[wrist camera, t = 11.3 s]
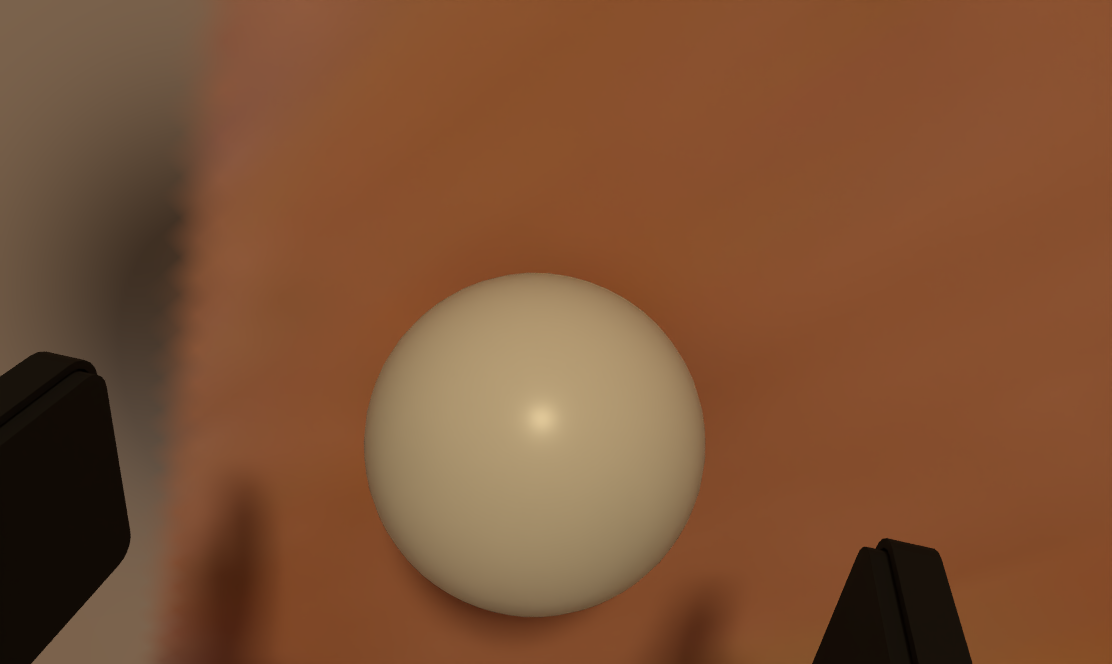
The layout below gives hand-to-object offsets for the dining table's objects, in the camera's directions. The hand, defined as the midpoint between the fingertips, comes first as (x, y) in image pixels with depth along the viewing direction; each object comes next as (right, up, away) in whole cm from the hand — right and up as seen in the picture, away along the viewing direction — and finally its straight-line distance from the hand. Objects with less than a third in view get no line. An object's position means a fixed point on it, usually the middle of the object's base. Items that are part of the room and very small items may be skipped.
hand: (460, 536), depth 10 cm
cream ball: (+1, +2, +4) cm, 5 cm away
